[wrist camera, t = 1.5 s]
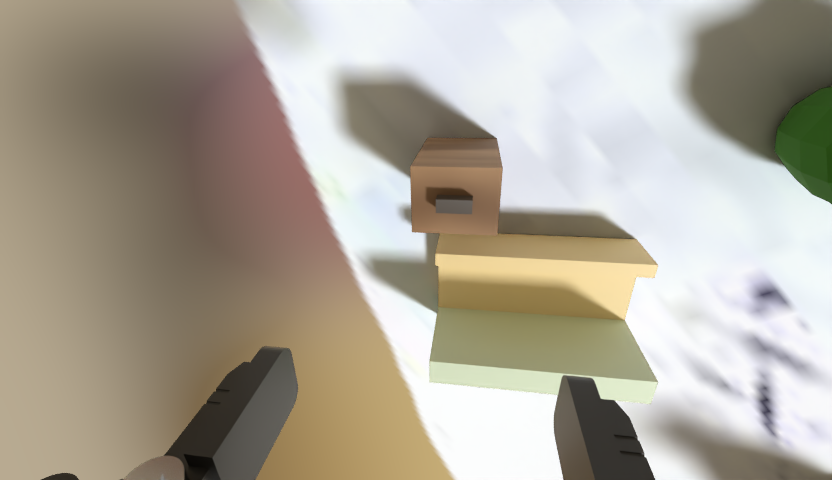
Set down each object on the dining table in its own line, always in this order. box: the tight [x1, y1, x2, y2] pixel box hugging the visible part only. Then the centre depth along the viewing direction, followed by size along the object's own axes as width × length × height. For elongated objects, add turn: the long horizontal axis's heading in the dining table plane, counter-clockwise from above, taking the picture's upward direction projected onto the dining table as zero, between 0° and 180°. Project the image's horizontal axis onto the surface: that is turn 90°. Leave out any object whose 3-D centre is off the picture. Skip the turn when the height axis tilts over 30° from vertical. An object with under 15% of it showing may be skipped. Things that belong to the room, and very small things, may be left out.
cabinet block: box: [410, 138, 503, 236], centre depth 25 cm, size 4×5×9 cm
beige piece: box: [429, 233, 658, 404], centre depth 29 cm, size 8×15×8 cm, turn 91°
